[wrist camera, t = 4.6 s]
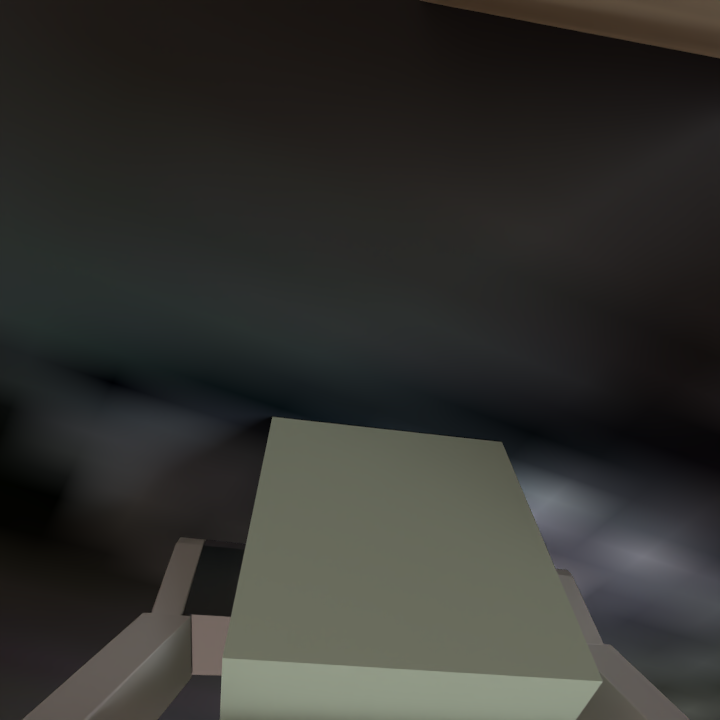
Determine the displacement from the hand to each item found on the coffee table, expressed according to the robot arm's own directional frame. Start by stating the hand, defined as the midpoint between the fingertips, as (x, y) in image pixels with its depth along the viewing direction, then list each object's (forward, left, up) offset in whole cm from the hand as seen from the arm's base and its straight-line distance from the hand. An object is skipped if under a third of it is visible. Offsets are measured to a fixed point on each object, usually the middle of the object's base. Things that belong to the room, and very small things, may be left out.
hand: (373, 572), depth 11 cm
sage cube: (0, 0, -2) cm, 2 cm away
